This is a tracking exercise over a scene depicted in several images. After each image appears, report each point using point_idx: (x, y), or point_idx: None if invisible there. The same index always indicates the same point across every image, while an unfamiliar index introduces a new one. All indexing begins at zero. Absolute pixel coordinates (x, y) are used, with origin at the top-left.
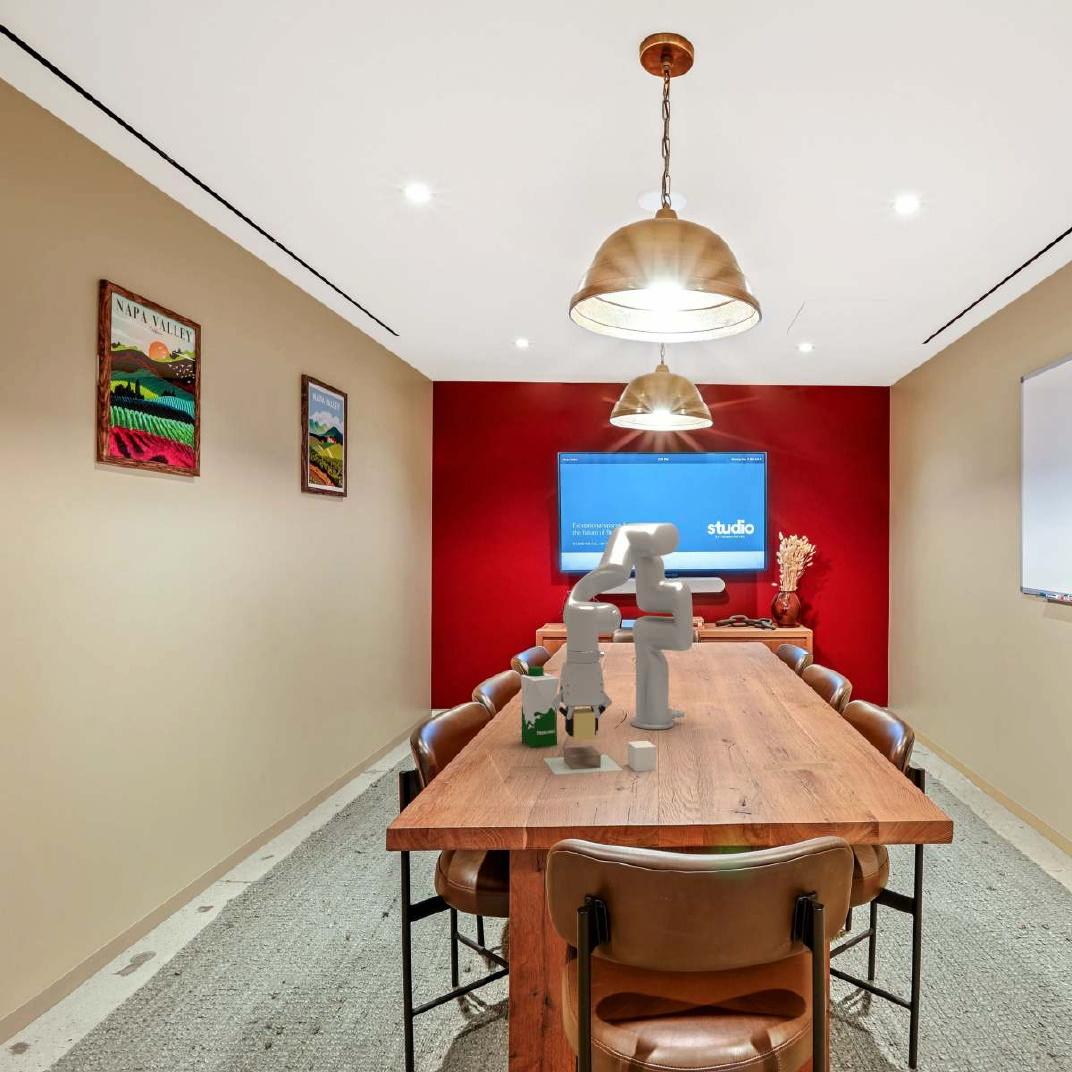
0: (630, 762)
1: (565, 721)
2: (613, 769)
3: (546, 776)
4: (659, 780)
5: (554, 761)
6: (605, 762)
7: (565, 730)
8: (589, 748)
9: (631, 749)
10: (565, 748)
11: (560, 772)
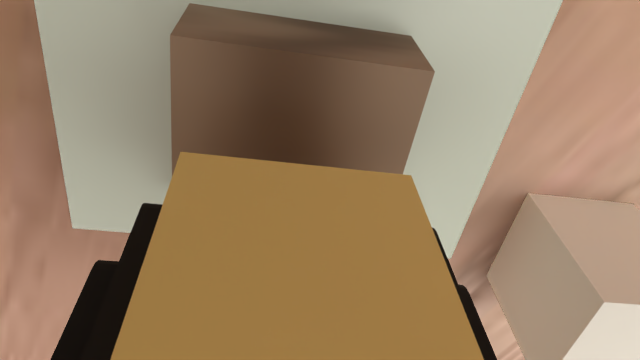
0: (526, 253)
1: (58, 352)
2: None
3: (27, 194)
4: (517, 345)
5: (107, 3)
6: (446, 136)
7: (99, 263)
8: (380, 123)
9: (554, 326)
10: (179, 58)
11: (108, 210)
